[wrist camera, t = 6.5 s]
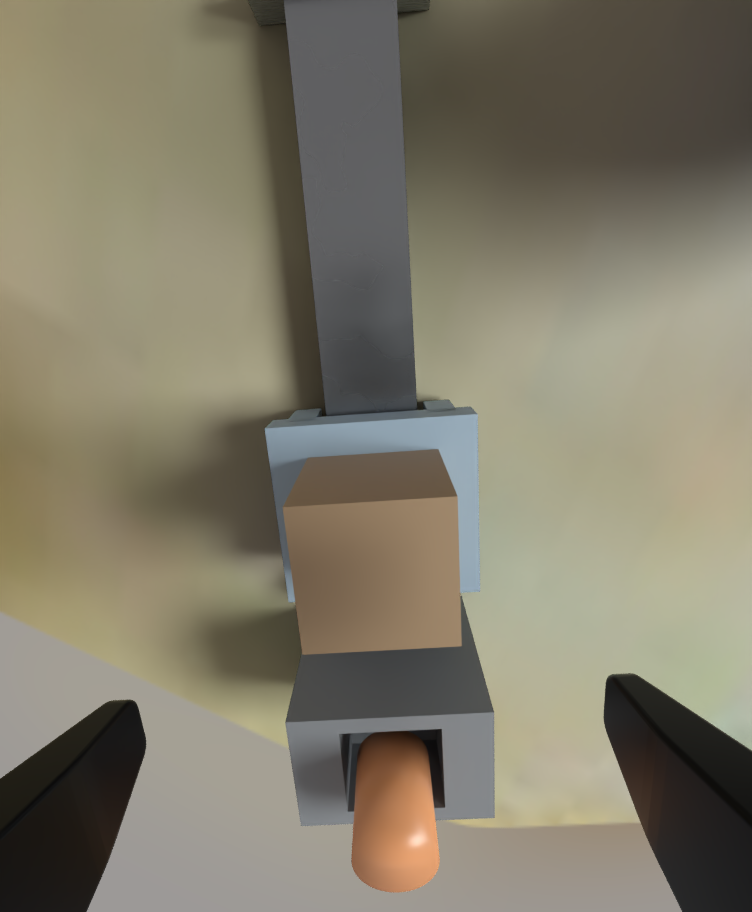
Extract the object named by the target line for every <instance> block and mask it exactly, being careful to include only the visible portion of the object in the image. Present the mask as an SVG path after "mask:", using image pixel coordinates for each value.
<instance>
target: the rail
mask: <svg viewBox="0 0 752 912" xmlns="http://www.w3.org/2000/svg"><path fill="white" fill-rule="evenodd" d="M248 1H249V4H250V6H251V8H252V11H253V13H254V15H255V18H256V20H257V22H258V25H259V26H261V25H272V24H282V23H286V27H287V37H288V47H289V57H290V66H291V76H292V86H293V96H294V106H295V115H296V125H297V135H298V145H299V155H300V164H301V174H302V184H303V194H304V204H305V213H306V223H307V233H308V243H309V253H310V262H311V272H312V282H313V292H314V302H315V311H316V321H317V331H318V341H319V351H320V360H321V370H322V380H323V390H324V400H325V409H326V416H341V415H355V414H370V413H384V412H399V411H414V410H417V399H416V379H415V358H414V338H413V318H412V297H411V277H410V257H409V237H408V216H407V196H406V176H405V155H404V135H403V115H402V95H401V74H400V54H399V34H398V14H397V13H399V12H410V11H421V10H429V5H430V0H248Z"/></svg>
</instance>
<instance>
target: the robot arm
mask: <svg viewBox="0 0 752 912" xmlns="http://www.w3.org/2000/svg"><path fill="white" fill-rule="evenodd" d="M604 724H605V728H606V732H607V735H608V737H609V740H610V743H611V745H612V748H613V751H614V753H615V756H616V759H617V761H618V764H619V766H620V769H621V772H622V774H623V777H624V780H625V782H626V785H627V788H628V790H629V793H630V796H631V798H632V801H633V804H634V806H635V809H636V812H637V814H638V817H639V819H640V822H641V824H642V827H643V829H644V832H645V834H646V837H647V839H648V841H649V843H650V846H651V848H652V850H653V852H654V854H655V857H656V858H657V861H658V863H659V865H660V867H661V869H662V871H663V873H664V875H665V877H666V879H667V881H668V883H669V885H670V887H671V889H672V891H673V894H674V896H675V897H676V900H677V902H678V904H679V906H680V908H681V910H682V912H752V751H751V750H750V749H748V748H747V747H745V746H744V745H742V744H741V743H739V742H738V741H736V740H735V739H733V738H732V737H730V736H729V735H727V734H726V733H724V732H723V731H721V730H720V729H718V728H717V727H715V726H714V725H712V724H711V723H709V722H708V721H706V720H705V719H703V718H702V717H700V716H698V715H697V714H695V713H694V712H692V711H691V710H689V709H688V708H686V707H685V706H683V705H682V704H680V703H679V702H677V701H676V700H674V699H673V698H671V697H670V696H668V695H667V694H665V693H664V692H662V691H661V690H659V689H658V688H656V687H655V686H653V685H652V684H650V683H649V682H647V681H646V680H644V679H642V678H641V677H639V676H638V675H636V674H631V673H628V674H612V675H610V676H608V678H607V680H606V689H605V703H604ZM145 749H146V737H145V733H144V729H143V725H142V721H141V717H140V713H139V709H138V706H137V704H136V702H135V701H133V700H113V701H109V702H107V703H105V704H103V705H102V706H101V707H99V708H98V709H96V710H95V711H94V712H92V713H91V714H90V715H88V716H87V717H85V718H84V719H83V720H81V721H80V722H78V723H77V724H76V725H74V726H73V727H71V728H70V729H69V730H67V731H66V732H65V733H63V734H62V735H60V736H59V737H58V738H56V739H55V740H53V741H52V742H51V743H49V744H48V745H47V746H45V747H44V748H42V749H41V750H40V751H38V752H37V753H35V754H34V755H33V756H31V757H30V758H28V759H27V760H26V761H24V762H23V763H22V764H20V765H19V766H17V767H16V768H14V769H13V770H12V771H10V772H9V773H7V774H6V775H5V776H3V777H2V778H1V779H0V912H86V911H87V909H88V907H89V905H90V902H91V900H92V898H93V896H94V893H95V891H96V889H97V886H98V884H99V882H100V880H101V877H102V874H103V872H104V870H105V868H106V865H107V863H108V860H109V858H110V855H111V852H112V849H113V847H114V844H115V841H116V838H117V835H118V832H119V829H120V826H121V823H122V820H123V817H124V814H125V811H126V808H127V805H128V802H129V799H130V797H131V794H132V791H133V788H134V785H135V782H136V779H137V776H138V773H139V770H140V766H141V764H142V761H143V758H144V755H145Z"/></svg>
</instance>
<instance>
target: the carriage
mask: <svg viewBox="0 0 752 912" xmlns="http://www.w3.org/2000/svg"><path fill="white" fill-rule="evenodd" d="M423 408H424V410H414V411H399V412H384V413H370V414H355V415H341V416H326V417H322V410H321V408H320V409H306V410H296V411H295V412H294V413H293V414H292V415H291V417H290V418H289V419H282V420H273V421H272V422H271V423H270V424H269V425H268V426H267V427H266V428H265V435H266V442H267V449H268V456H269V464H270V471H271V478H272V485H273V492H274V500H275V507H276V514H277V521H278V528H279V536H280V543H281V550H282V557H283V565H284V572H285V579H286V586H287V593H288V601H289V602H295V603H296V611H297V618H298V626H299V633H300V641H301V648H302V655H308V654H327V653H346V652H364V651H383V650H402V649H421V648H439V647H458V646H462V638H461V601H460V593H462V592H480V554H479V485H478V416H477V413H476V412H475V411H474V410H473V409H472V408H471V407H457V408H455V407H454V406H453V404H452V403H451V402H450V400H436V401H423Z"/></svg>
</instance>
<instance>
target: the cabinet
mask: <svg viewBox="0 0 752 912" xmlns="http://www.w3.org/2000/svg"><path fill="white" fill-rule="evenodd" d="M460 601H461V638H462V646H458V647H439V648H421V649H402V650H383V651H364V652H346V653H327V654H308V655H302V654H301V658H300V662H299V667H298V671H297V675H296V679H295V684H294V688H293V692H292V696H291V701H290V705H289V709H288V713H287V718H286V722H285V723H286V730H287V736H288V743H289V750H290V756H291V763H292V769H293V775H294V782H295V788H296V795H297V802H298V808H299V815H300V822H301V826H312V825H336V824H353V823H354V805H355V787H356V769H357V754H358V749H359V747H360V745H361V743H362V742H363V741H364V740H365V739H366V738H367V737H368V736H369V735H371V734H373V733H375V732H388V731H409V732H411V733H413V734H415V735H416V736H418V737H419V738H420V739H421V740H422V741H423V742H424V744H425V745H426V747H427V750H428V754H429V764H430V773H431V783H432V792H433V802H434V811H435V820H455V819H478V818H495V805H494V711H493V707H492V704H491V700H490V696H489V693H488V689H487V686H486V682H485V678H484V675H483V671H482V668H481V664H480V661H479V657H478V653H477V650H476V646H475V643H474V639H473V635H472V632H471V628H470V625H469V621H468V617H467V614H466V610H465V607H464V603H463V600H462V596H460Z"/></svg>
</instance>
